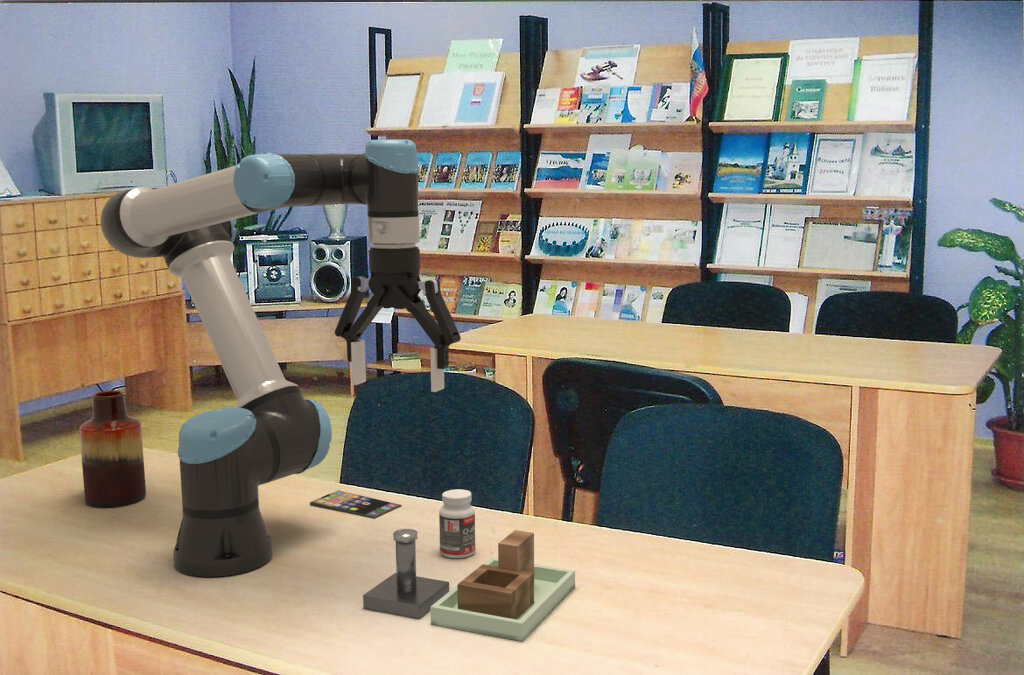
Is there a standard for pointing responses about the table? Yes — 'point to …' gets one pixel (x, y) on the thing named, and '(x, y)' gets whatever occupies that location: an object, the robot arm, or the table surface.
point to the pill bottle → (457, 524)
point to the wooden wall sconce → (502, 580)
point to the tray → (547, 595)
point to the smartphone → (355, 504)
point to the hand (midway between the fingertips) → (397, 386)
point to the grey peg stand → (405, 584)
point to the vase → (112, 454)
